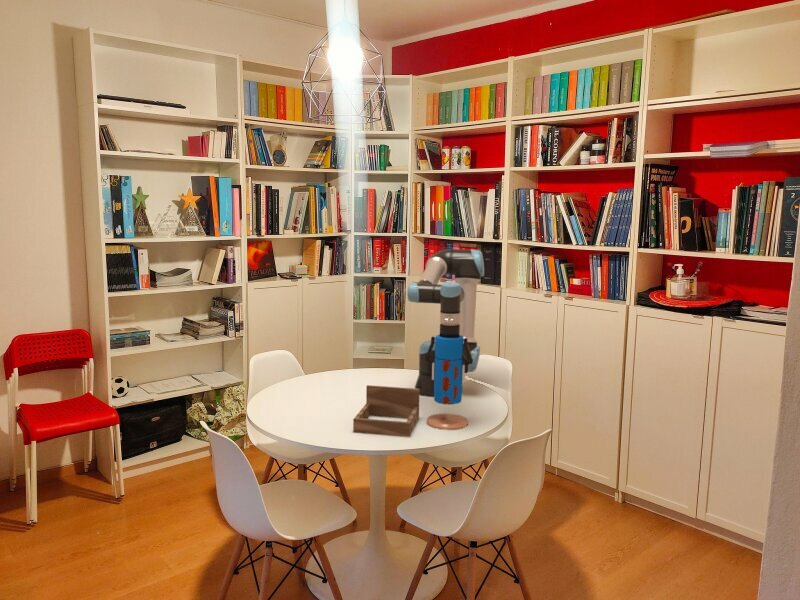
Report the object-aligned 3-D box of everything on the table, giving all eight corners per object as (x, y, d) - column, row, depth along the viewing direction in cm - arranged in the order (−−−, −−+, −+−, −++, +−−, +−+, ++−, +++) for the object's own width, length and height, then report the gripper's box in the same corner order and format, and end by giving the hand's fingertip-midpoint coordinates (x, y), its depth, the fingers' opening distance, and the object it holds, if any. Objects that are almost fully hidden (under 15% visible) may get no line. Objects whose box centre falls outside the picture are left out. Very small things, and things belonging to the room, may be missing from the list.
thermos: (438, 394, 254) (440, 332, 250) (465, 398, 250) (467, 335, 247) (430, 402, 244) (431, 338, 240) (457, 406, 240) (459, 340, 236)
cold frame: (367, 414, 257) (367, 385, 255) (418, 418, 253) (419, 388, 251) (353, 432, 237) (353, 400, 235) (409, 436, 233) (409, 404, 231)
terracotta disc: (429, 414, 258) (429, 412, 258) (469, 417, 255) (469, 415, 255) (423, 428, 242) (423, 425, 242) (465, 431, 239) (465, 428, 239)
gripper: (417, 323, 241) (416, 380, 245) (480, 326, 237) (478, 384, 240) (421, 320, 249) (419, 375, 252) (481, 323, 244) (479, 379, 247)
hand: (448, 380), depth 246 cm, fingers closed on thermos, 11 cm apart
